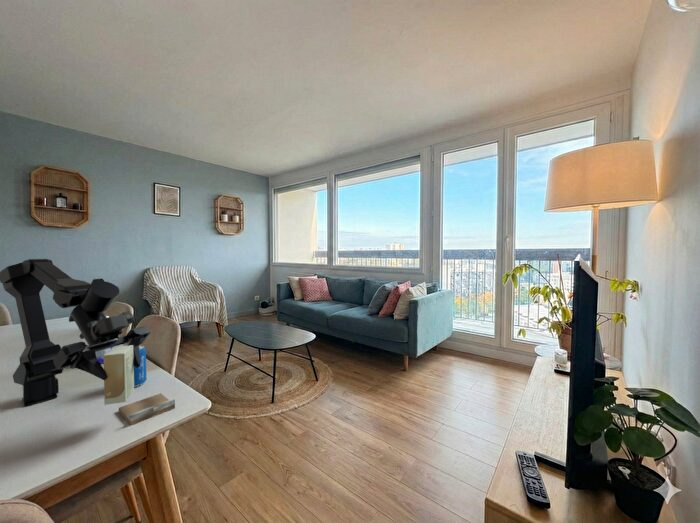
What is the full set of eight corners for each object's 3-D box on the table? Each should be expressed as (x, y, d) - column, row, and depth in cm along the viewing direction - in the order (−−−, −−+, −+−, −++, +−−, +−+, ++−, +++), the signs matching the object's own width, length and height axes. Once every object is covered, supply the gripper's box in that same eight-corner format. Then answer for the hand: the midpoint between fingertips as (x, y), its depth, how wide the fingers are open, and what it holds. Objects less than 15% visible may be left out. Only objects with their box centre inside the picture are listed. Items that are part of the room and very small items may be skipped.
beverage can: (133, 390, 89) (132, 352, 88) (116, 388, 90) (115, 350, 89) (151, 381, 95) (150, 345, 95) (135, 379, 96) (134, 343, 96)
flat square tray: (131, 425, 71) (130, 416, 71) (118, 411, 77) (118, 402, 77) (175, 408, 79) (175, 399, 79) (160, 396, 85) (160, 388, 85)
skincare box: (114, 393, 74) (113, 346, 73) (134, 390, 75) (134, 344, 75) (103, 406, 68) (102, 354, 67) (125, 402, 69) (124, 352, 69)
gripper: (59, 310, 63) (92, 367, 60) (145, 297, 81) (174, 341, 77) (39, 341, 66) (70, 397, 63) (126, 322, 84) (154, 365, 80)
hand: (123, 372), depth 71 cm, fingers closed on skincare box, 7 cm apart
